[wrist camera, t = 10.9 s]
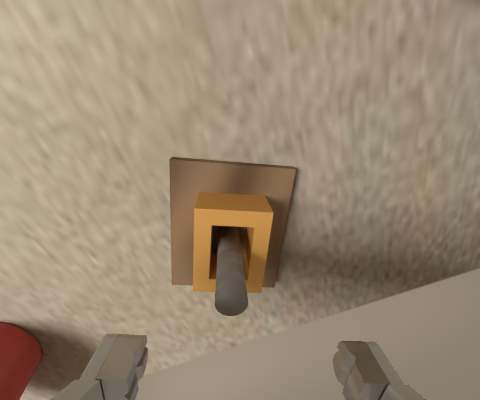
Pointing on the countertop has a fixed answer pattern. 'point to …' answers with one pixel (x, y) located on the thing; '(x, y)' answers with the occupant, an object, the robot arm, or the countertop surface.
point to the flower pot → (16, 360)
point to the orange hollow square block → (231, 214)
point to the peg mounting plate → (226, 237)
